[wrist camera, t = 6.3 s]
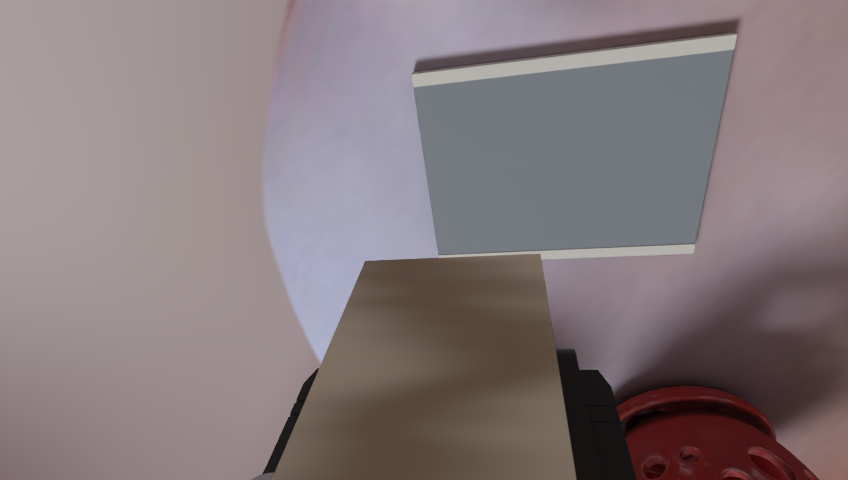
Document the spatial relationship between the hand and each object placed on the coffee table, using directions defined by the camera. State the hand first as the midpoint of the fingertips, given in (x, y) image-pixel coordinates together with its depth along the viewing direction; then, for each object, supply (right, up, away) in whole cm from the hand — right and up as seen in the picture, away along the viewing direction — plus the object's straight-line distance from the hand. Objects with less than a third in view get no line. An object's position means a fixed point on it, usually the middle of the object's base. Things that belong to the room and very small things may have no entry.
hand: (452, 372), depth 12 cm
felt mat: (+6, +8, +11) cm, 15 cm away
